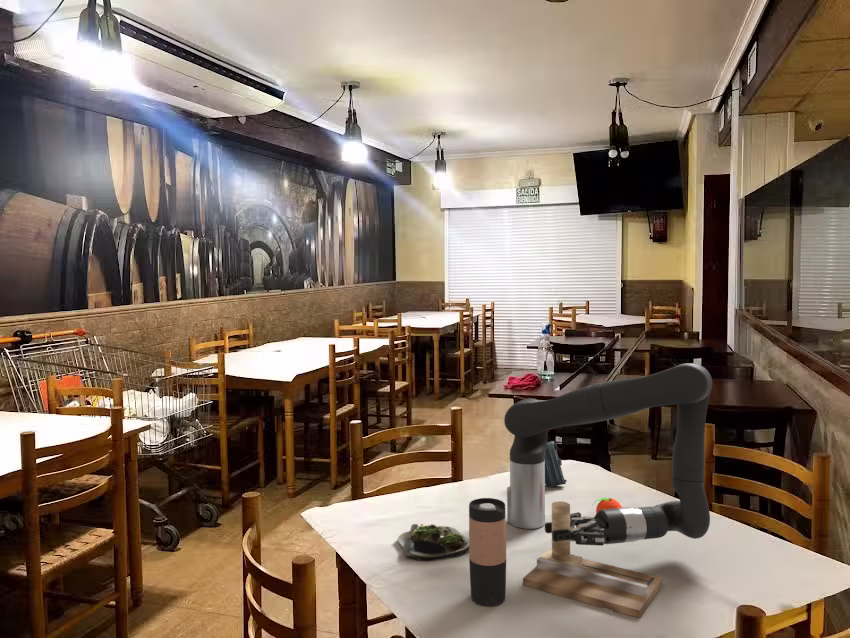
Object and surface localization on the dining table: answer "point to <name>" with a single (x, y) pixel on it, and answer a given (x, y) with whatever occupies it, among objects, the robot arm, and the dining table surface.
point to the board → (596, 584)
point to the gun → (553, 466)
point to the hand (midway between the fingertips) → (549, 531)
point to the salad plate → (433, 542)
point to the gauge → (561, 548)
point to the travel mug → (487, 551)
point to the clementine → (607, 504)
